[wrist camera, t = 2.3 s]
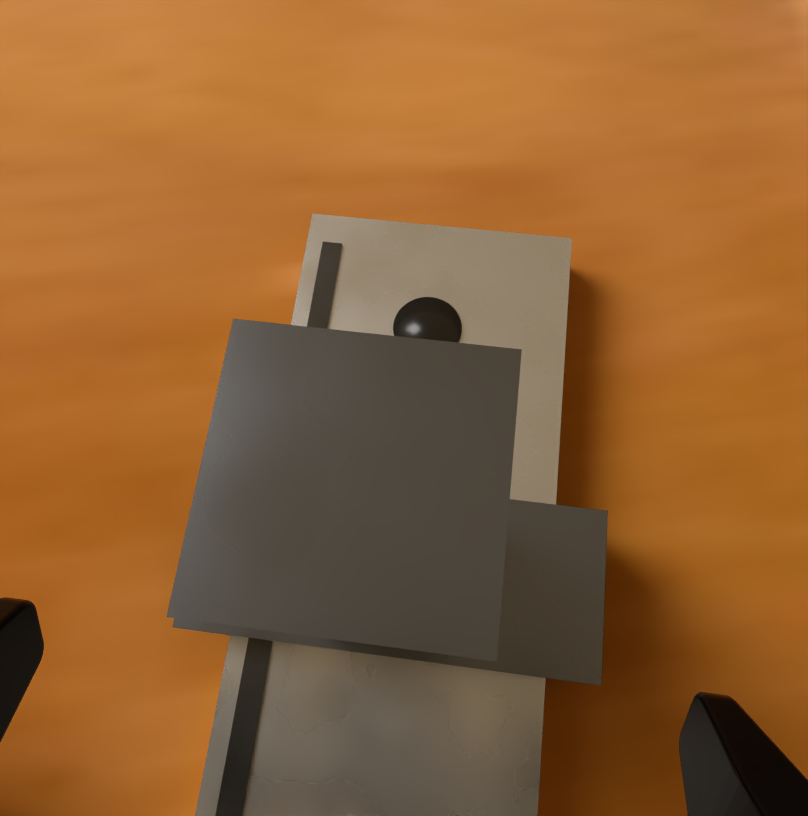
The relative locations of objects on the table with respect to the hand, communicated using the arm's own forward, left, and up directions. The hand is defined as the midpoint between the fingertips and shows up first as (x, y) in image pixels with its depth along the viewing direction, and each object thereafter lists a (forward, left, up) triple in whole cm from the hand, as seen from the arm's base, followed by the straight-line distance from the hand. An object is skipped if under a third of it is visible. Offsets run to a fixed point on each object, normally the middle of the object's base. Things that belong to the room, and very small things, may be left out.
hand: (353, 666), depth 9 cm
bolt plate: (+2, -1, -10) cm, 10 cm away
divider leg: (+2, -1, -9) cm, 9 cm away
